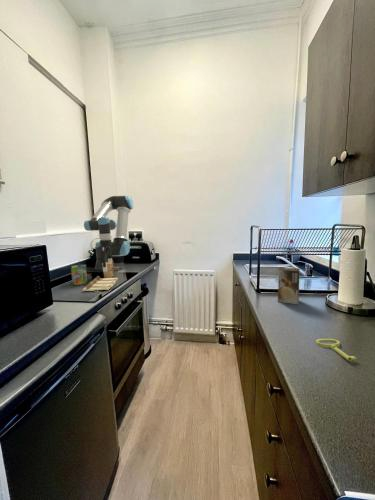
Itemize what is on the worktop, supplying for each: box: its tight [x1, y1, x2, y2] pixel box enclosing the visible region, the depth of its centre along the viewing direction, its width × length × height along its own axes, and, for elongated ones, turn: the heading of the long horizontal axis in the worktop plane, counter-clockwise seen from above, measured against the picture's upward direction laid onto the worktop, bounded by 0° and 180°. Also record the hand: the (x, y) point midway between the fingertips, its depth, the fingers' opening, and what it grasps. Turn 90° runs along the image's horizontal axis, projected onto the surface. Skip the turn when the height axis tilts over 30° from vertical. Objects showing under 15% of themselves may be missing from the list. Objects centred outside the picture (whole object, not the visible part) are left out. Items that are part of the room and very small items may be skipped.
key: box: [315, 338, 357, 362], centre depth 71 cm, size 7×12×2 cm, turn 20°
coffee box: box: [277, 266, 301, 305], centre depth 108 cm, size 9×6×16 cm
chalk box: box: [70, 260, 89, 287], centre depth 148 cm, size 9×9×15 cm
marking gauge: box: [103, 262, 120, 278], centre depth 160 cm, size 6×10×10 cm, turn 94°
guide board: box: [82, 275, 119, 292], centre depth 142 cm, size 22×15×4 cm
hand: (107, 269), depth 160 cm, fingers open, 13 cm apart
